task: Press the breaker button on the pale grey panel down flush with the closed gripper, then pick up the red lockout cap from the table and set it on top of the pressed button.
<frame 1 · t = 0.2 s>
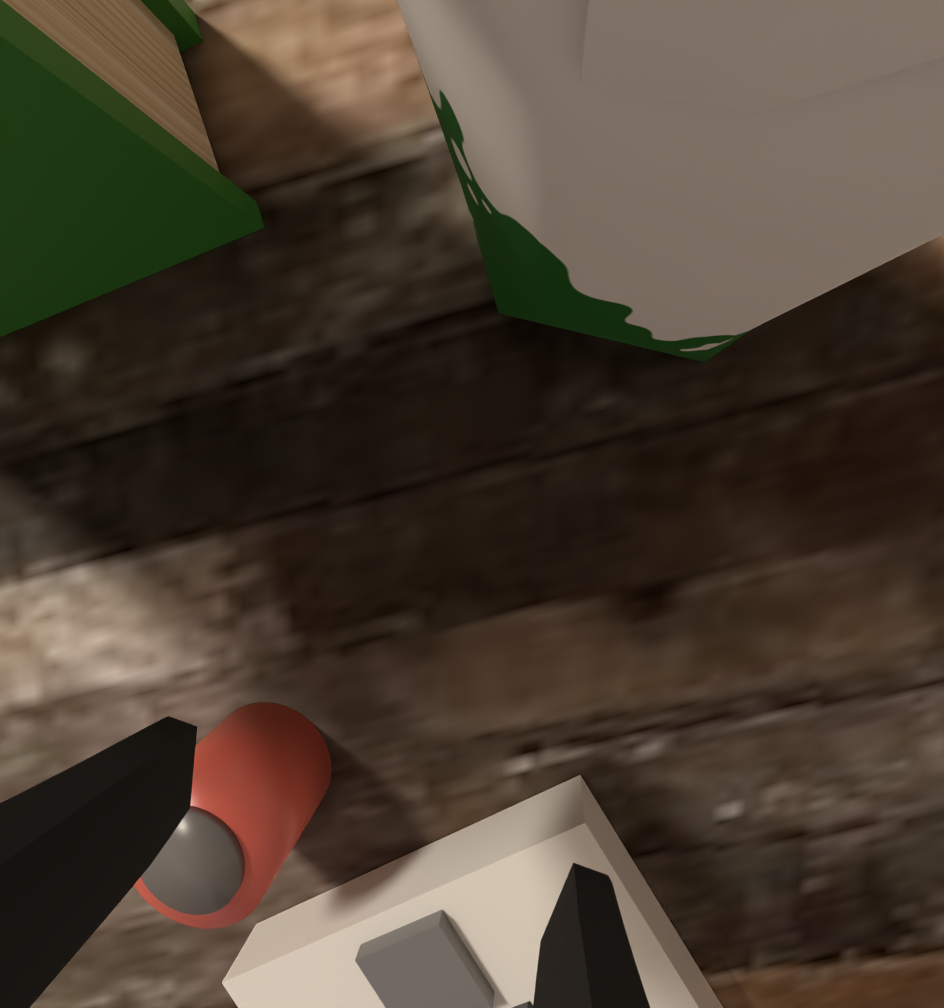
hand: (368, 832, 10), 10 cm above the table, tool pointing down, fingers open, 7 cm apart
hardback book: (33, 216, 20), on the table
lockout cap: (272, 761, 22), on the table
milk carton: (626, 232, 17), on the table
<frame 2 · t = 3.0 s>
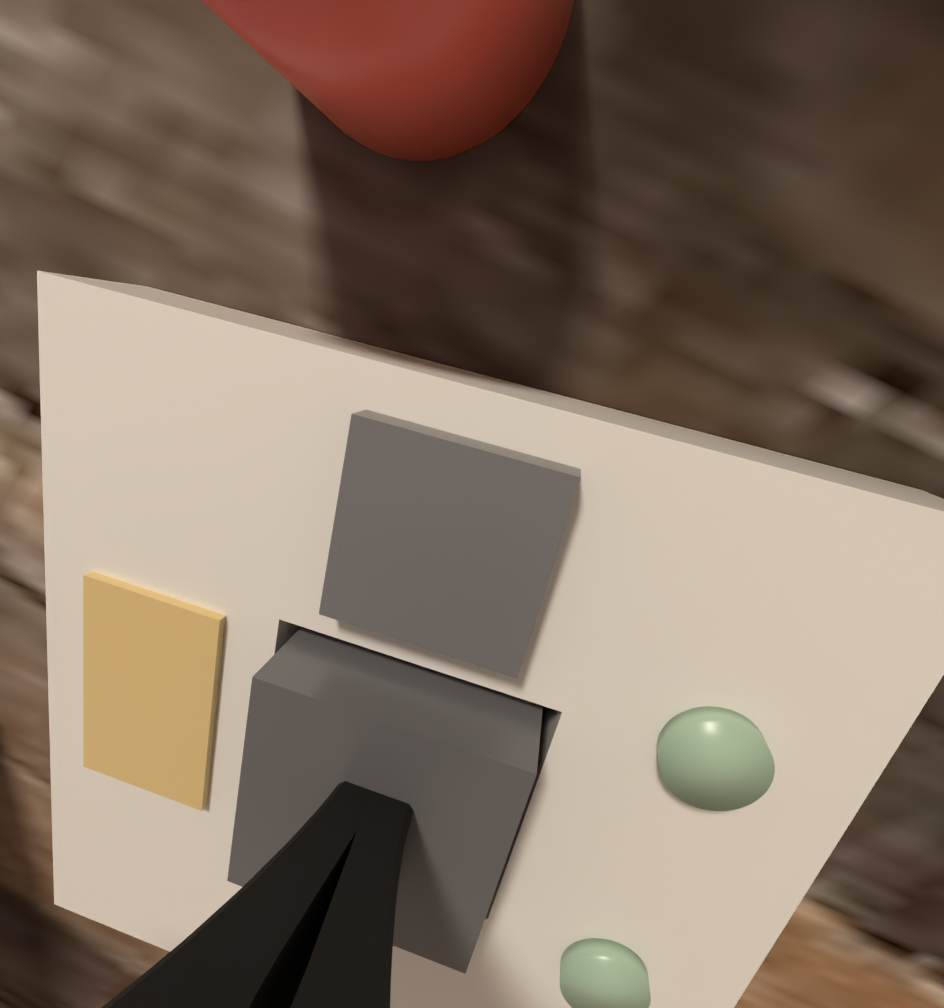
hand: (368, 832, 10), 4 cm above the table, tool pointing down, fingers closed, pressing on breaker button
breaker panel: (422, 700, 13), on the table
breaker button: (387, 782, 11), point 3 cm above the table, slide at 0.7 cm, touching gripper
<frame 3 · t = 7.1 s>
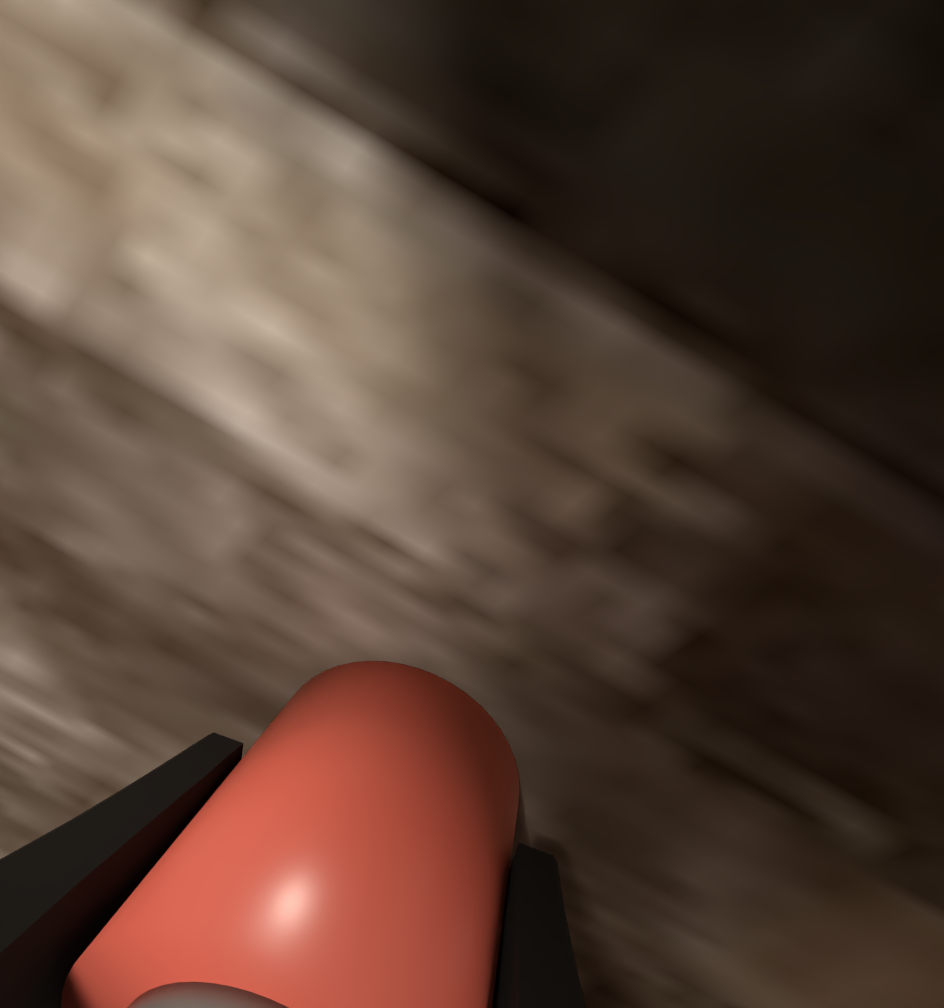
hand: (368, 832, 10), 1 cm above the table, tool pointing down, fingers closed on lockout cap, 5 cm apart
lockout cap: (393, 772, 11), on the table, touching gripper
when the fingers open (5 cm above the table, at t = 10.9 s): lockout cap stays where it is, resting on breaker button.
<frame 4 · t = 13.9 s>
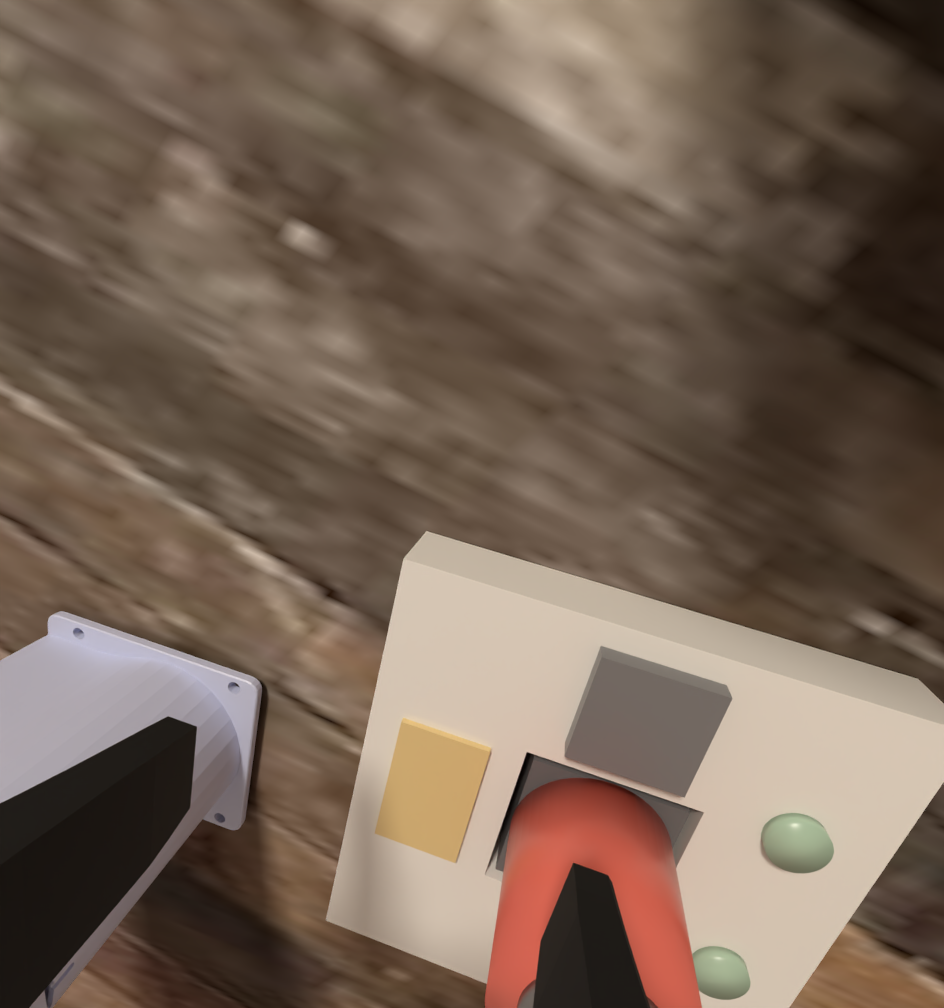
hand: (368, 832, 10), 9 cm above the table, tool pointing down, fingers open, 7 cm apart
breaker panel: (585, 786, 20), on the table
breaker button: (586, 812, 19), point 1 cm above the table, slide at 2.1 cm, touching lockout cap
lockout cap: (588, 843, 17), point 2 cm above the table, touching breaker button
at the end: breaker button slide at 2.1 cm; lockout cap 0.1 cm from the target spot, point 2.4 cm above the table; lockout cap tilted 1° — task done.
